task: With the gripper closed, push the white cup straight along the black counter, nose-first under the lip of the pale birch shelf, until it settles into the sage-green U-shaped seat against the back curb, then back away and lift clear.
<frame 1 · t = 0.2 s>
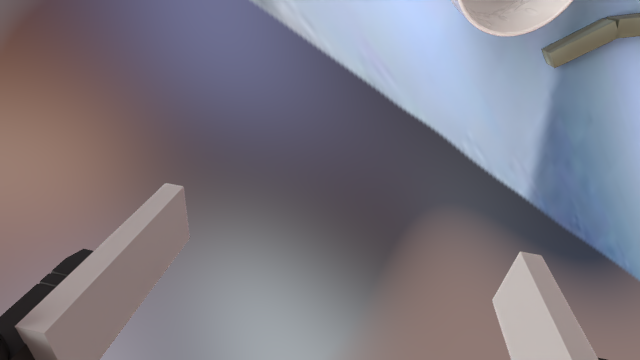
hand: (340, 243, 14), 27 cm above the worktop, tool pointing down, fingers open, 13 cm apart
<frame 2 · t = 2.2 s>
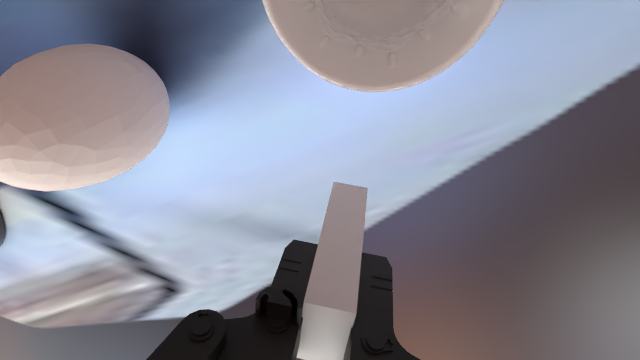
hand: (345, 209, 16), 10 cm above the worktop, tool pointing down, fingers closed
egg: (147, 86, 25), on the worktop
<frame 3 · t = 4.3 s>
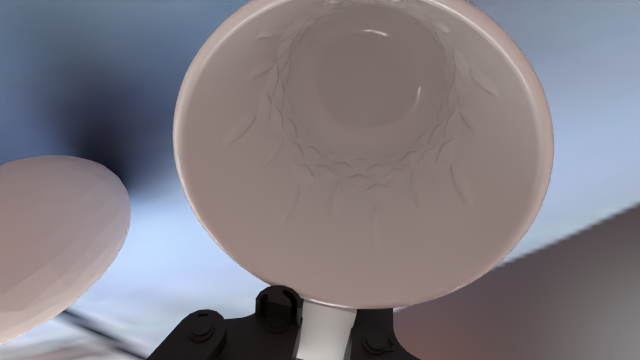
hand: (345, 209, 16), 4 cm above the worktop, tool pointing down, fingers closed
white cup: (367, 72, 16), on the worktop, touching gripper
egg: (109, 179, 22), on the worktop
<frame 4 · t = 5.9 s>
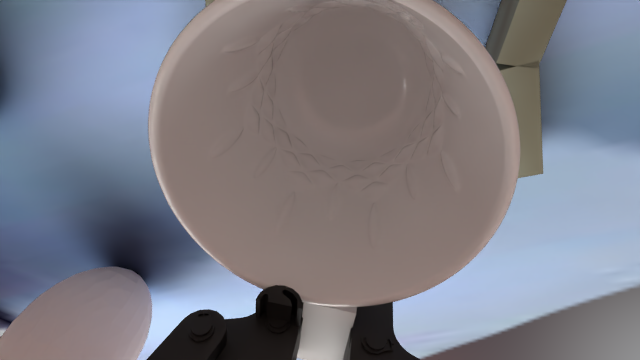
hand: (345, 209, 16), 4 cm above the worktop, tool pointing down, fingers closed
white cup: (355, 75, 16), on the worktop, touching gripper
egg: (133, 274, 27), on the worktop
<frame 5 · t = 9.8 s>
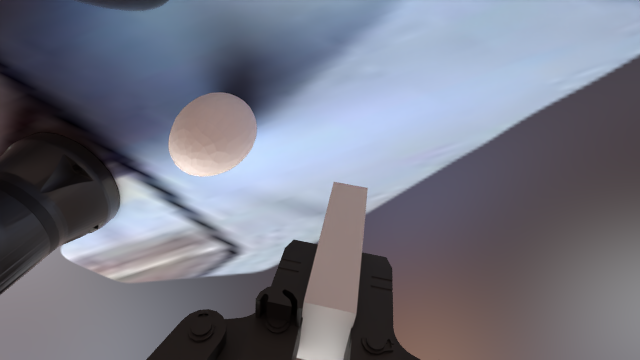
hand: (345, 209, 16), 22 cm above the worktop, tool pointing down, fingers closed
egg: (238, 112, 39), on the worktop
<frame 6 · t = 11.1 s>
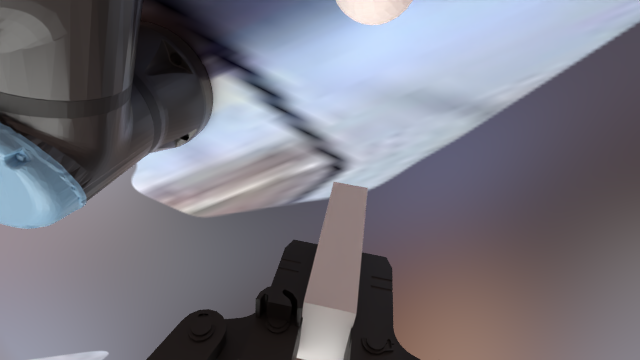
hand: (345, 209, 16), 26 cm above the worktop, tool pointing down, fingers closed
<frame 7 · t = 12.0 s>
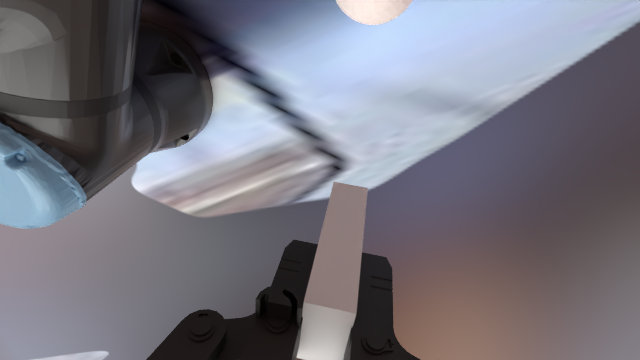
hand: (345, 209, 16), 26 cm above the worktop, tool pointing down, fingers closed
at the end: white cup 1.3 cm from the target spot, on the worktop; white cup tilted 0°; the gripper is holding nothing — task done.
